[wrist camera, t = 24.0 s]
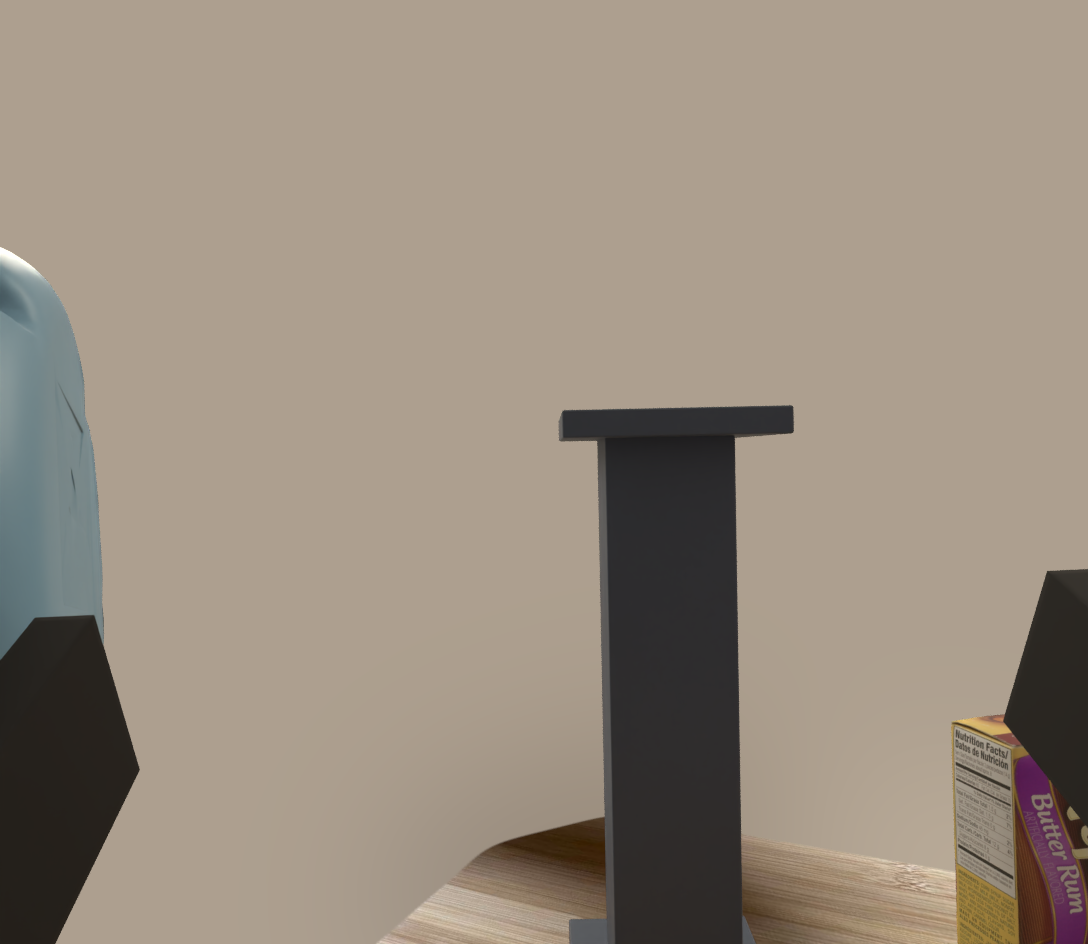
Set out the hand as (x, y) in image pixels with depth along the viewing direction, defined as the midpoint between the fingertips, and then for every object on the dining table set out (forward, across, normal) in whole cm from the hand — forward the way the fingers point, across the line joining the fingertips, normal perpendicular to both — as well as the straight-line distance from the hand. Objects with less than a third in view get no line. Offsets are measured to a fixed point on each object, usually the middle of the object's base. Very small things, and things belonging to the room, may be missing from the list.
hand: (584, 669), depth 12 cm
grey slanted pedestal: (+16, +7, -35) cm, 39 cm away
